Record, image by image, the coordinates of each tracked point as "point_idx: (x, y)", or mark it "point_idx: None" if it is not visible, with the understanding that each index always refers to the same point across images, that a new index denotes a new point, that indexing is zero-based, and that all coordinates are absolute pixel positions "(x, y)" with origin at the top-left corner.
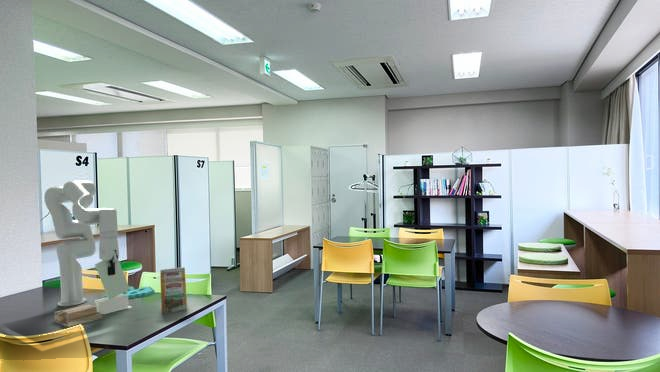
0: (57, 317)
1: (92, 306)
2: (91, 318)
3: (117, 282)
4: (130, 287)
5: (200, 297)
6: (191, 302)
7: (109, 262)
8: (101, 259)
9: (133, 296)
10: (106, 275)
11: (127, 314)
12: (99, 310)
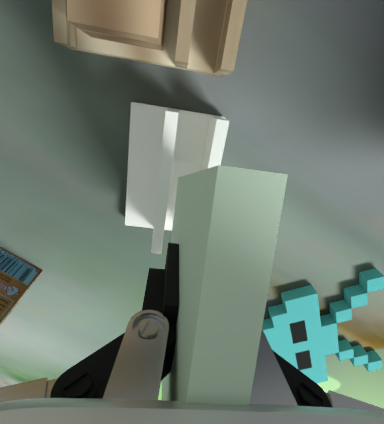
0: None
1: (93, 9)
2: None
3: None
4: (369, 363)
5: (57, 375)
6: (24, 338)
7: (111, 377)
8: (347, 413)
9: (271, 312)
10: (181, 231)
11: (83, 173)
12: (174, 109)
